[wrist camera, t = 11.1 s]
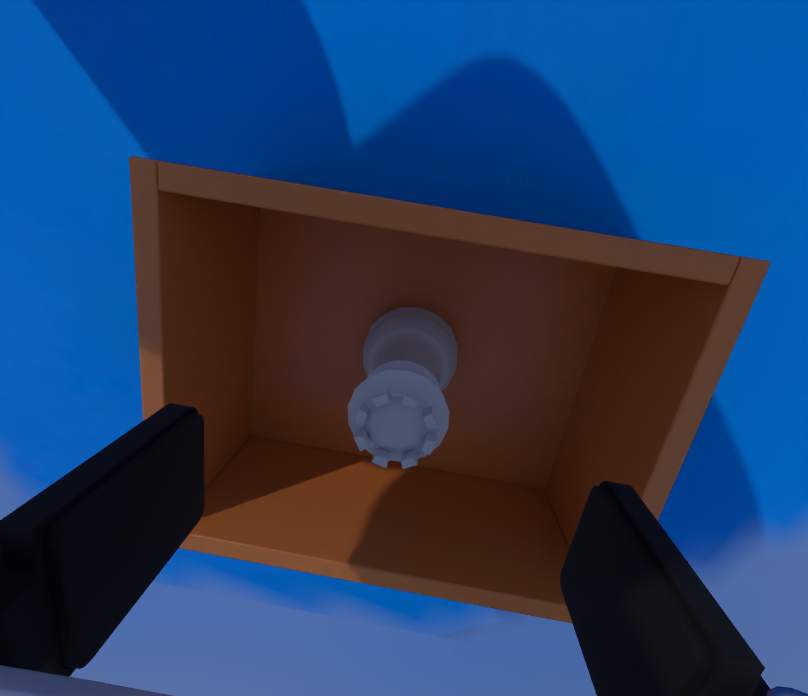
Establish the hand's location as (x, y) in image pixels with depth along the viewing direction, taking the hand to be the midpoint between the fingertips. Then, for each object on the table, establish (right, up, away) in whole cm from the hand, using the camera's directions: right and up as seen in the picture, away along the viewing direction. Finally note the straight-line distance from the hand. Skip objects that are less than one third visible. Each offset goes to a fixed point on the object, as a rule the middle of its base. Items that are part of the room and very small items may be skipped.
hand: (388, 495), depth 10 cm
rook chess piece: (+1, +3, +10) cm, 11 cm away
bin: (+1, +3, +11) cm, 11 cm away
